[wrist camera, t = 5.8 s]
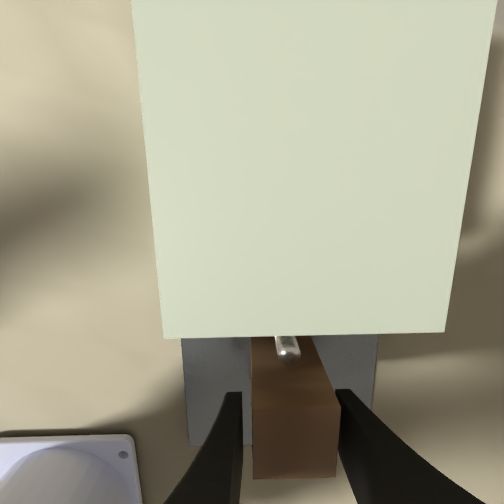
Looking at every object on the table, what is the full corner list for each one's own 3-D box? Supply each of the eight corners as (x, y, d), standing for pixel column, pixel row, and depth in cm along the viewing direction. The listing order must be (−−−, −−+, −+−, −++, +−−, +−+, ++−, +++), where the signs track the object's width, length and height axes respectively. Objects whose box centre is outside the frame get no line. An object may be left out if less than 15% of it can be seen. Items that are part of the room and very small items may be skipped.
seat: (366, 438, 16) (395, 499, 13) (190, 443, 16) (176, 506, 13) (382, 270, 14) (422, 294, 11) (176, 274, 14) (156, 300, 10)
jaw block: (309, 334, 14) (341, 407, 10) (307, 385, 15) (335, 477, 10) (250, 335, 14) (252, 409, 9) (250, 386, 15) (253, 479, 10)
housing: (364, 273, 13) (444, 332, 8) (197, 276, 13) (163, 338, 8) (380, 85, 11) (497, -3, 6) (185, 87, 11) (130, -1, 6)
